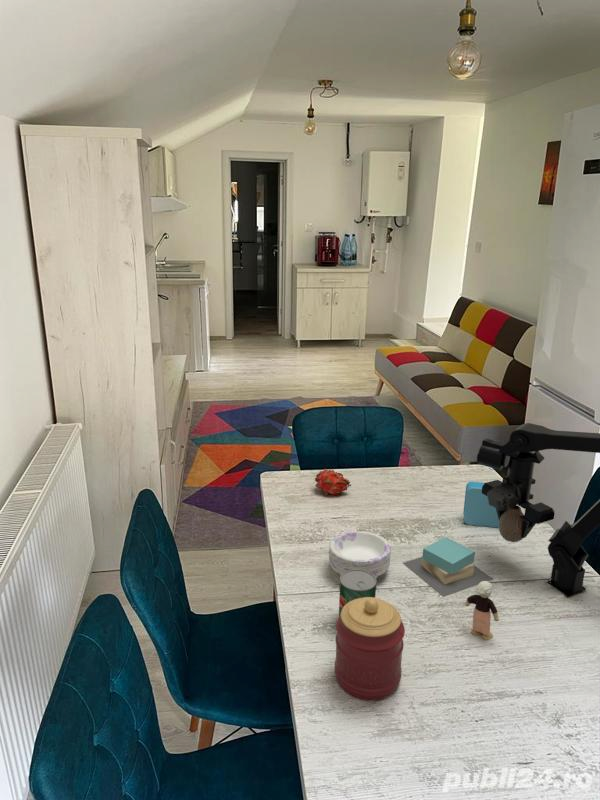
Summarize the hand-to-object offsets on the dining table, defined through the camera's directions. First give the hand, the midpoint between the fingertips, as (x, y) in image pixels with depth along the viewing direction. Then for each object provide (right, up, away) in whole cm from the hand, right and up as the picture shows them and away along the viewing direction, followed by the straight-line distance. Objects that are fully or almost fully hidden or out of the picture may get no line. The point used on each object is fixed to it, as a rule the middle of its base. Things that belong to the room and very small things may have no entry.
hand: (512, 531), depth 153 cm
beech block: (-17, -10, 0) cm, 19 cm away
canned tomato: (-41, -16, -19) cm, 48 cm away
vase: (0, -2, +1) cm, 2 cm away
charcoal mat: (-17, -10, 0) cm, 20 cm away
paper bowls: (-39, -11, 0) cm, 40 cm away
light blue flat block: (0, -3, +25) cm, 25 cm away
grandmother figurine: (-15, -18, -22) cm, 32 cm away
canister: (-41, -21, -34) cm, 57 cm away
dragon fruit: (-43, +3, +43) cm, 61 cm away
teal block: (-17, -7, -1) cm, 18 cm away
